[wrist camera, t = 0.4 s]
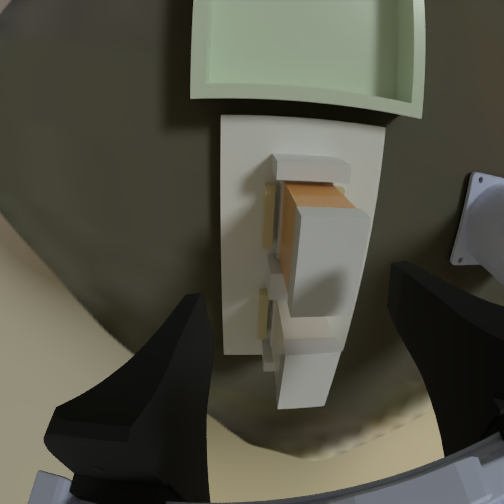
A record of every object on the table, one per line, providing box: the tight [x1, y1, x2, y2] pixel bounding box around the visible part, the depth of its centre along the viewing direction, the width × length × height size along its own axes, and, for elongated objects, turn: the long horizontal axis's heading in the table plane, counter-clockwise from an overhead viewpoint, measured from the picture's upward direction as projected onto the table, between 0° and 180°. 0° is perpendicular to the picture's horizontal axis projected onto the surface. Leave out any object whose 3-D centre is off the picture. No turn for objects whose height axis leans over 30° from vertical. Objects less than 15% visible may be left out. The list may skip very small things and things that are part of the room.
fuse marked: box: [275, 180, 371, 318], centre depth 17 cm, size 3×5×7 cm, turn 178°
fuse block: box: [220, 115, 386, 371], centre depth 21 cm, size 10×18×4 cm, turn 178°
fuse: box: [268, 300, 341, 409], centre depth 20 cm, size 3×5×7 cm, turn 178°
